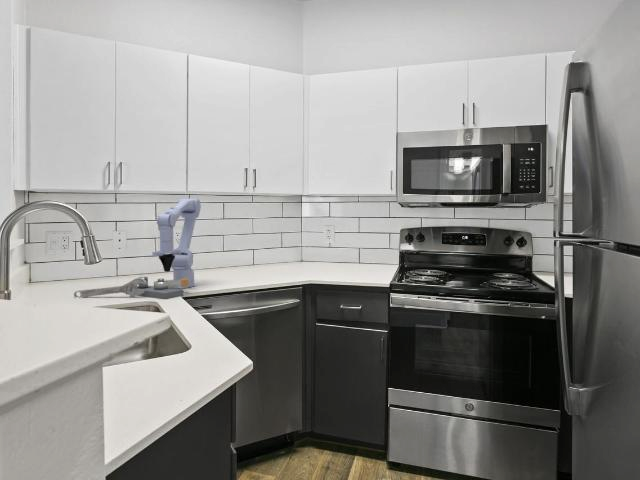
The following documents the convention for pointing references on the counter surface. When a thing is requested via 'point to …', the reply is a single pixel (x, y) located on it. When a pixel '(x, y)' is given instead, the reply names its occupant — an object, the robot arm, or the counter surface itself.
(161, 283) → the silver elongated block
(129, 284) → the wrench
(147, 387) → the counter surface
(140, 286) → the steel pin
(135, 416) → the counter surface
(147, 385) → the counter surface
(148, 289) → the pin board
